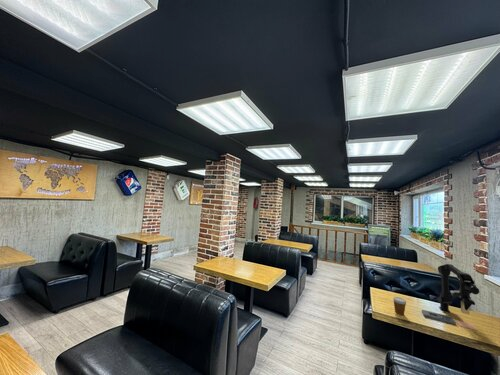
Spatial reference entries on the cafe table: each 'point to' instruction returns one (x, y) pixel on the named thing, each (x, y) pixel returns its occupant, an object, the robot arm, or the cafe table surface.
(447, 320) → the rail plate
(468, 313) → the brass block
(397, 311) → the disposable coffee cup
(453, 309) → the cafe table surface
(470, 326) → the mat
